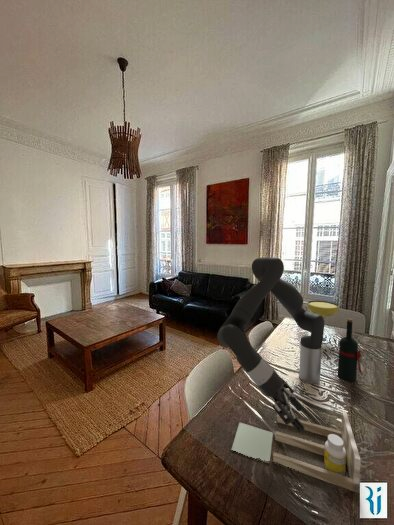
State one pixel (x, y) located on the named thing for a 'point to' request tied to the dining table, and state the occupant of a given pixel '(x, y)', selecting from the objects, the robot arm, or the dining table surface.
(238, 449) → the mat
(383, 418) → the dining table surface
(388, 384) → the dining table surface
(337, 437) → the supplement bottle
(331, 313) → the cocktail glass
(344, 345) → the wine bottle
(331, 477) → the lane rack
